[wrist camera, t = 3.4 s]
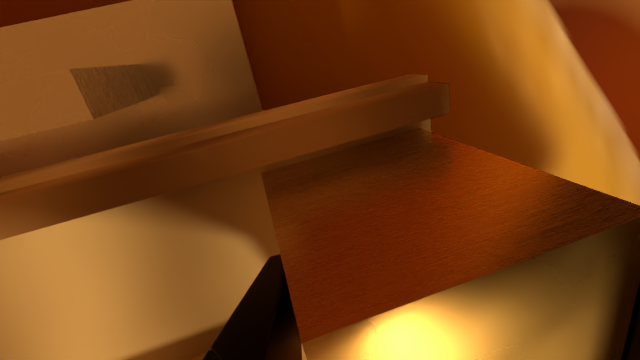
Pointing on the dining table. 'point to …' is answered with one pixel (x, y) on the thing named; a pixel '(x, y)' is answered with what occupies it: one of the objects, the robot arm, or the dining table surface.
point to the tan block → (451, 255)
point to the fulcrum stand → (119, 78)
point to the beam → (169, 226)
